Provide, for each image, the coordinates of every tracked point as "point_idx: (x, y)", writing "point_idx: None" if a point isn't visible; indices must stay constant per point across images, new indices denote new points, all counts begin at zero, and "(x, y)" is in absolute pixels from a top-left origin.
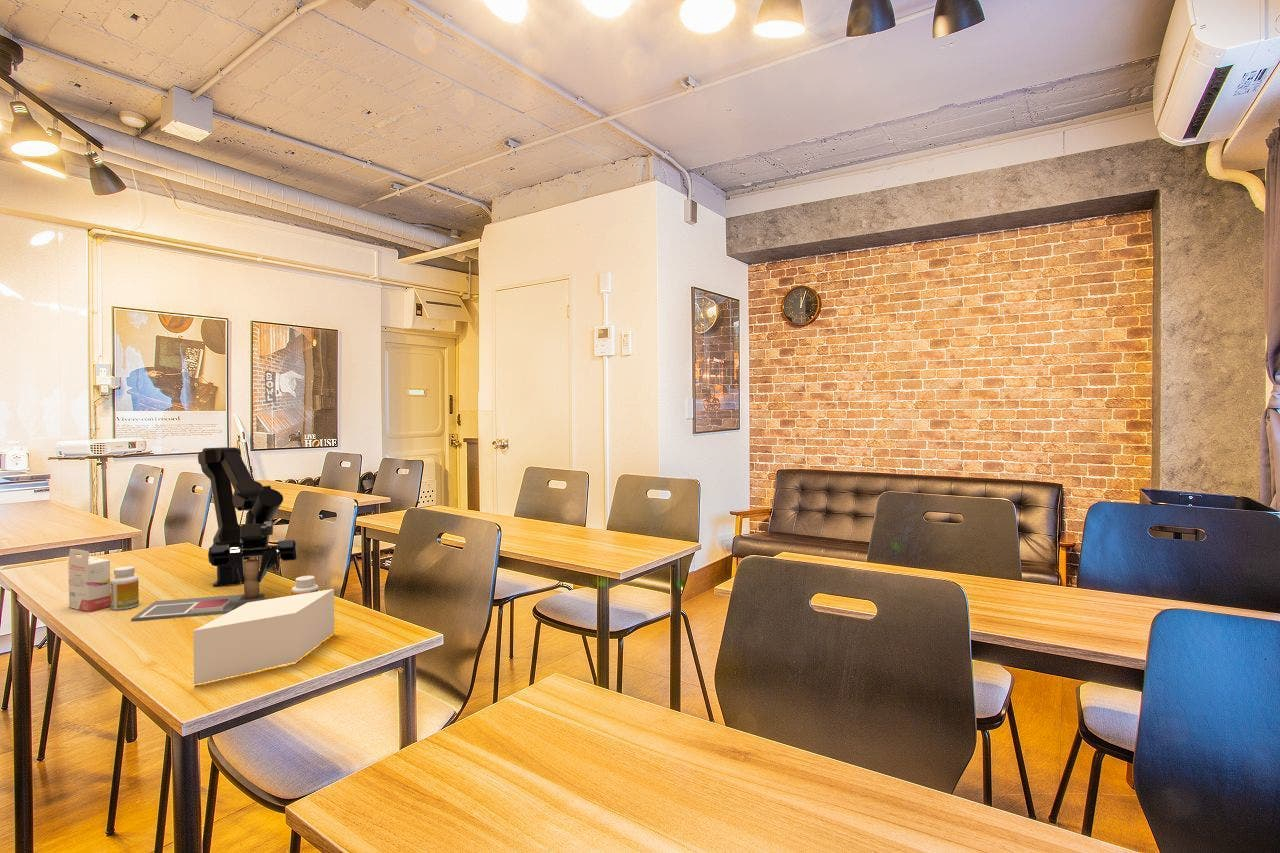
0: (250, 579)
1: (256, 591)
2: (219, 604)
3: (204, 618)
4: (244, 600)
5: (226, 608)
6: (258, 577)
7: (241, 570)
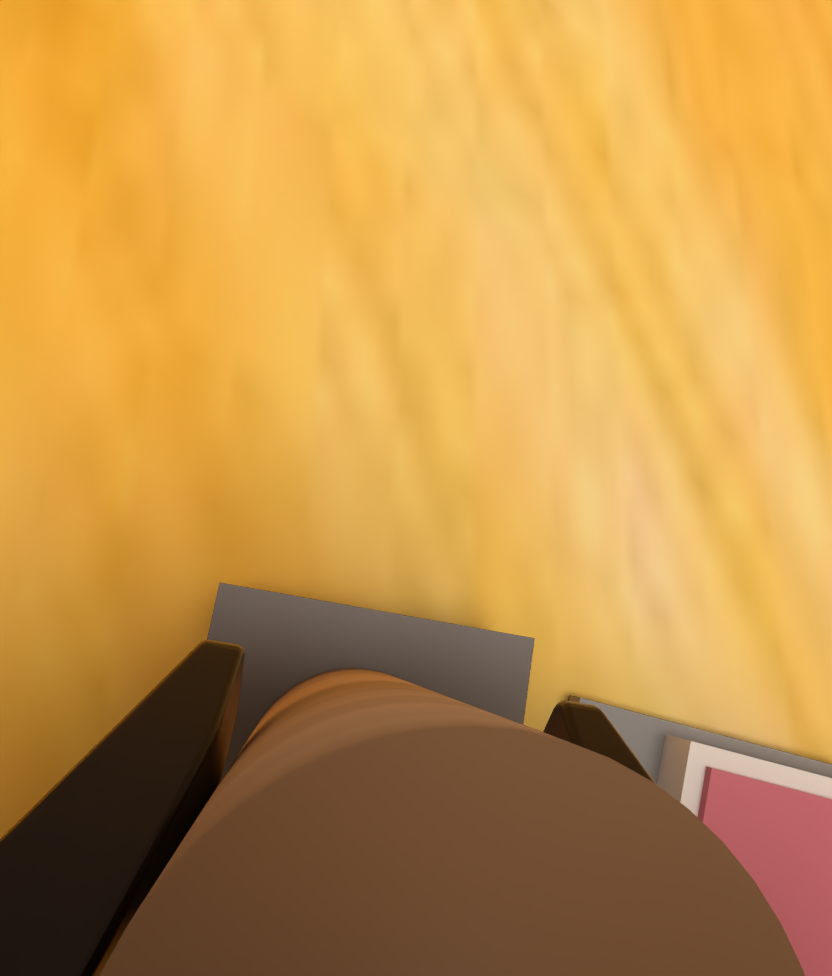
0: (412, 685)
1: (287, 694)
2: (740, 848)
3: (814, 626)
4: (454, 650)
5: None
6: (228, 686)
7: None
